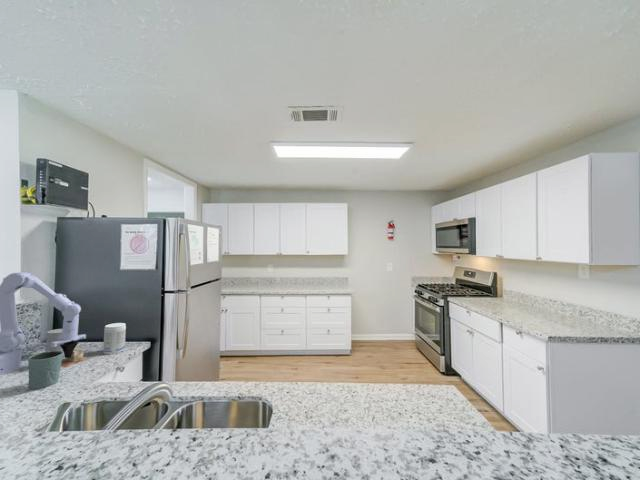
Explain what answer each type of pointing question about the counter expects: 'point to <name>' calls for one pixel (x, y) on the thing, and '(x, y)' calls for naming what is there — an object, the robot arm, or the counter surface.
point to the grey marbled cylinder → (53, 340)
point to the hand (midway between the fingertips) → (67, 357)
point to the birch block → (76, 355)
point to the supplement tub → (114, 338)
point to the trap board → (71, 362)
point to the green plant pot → (44, 369)
